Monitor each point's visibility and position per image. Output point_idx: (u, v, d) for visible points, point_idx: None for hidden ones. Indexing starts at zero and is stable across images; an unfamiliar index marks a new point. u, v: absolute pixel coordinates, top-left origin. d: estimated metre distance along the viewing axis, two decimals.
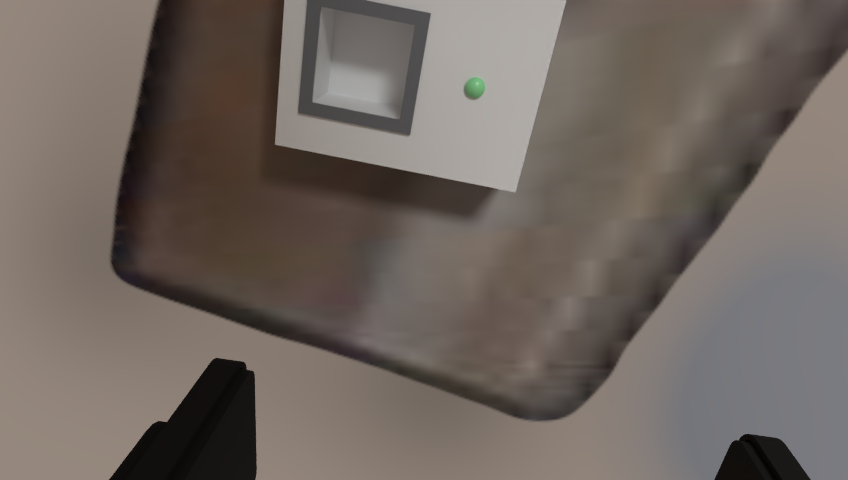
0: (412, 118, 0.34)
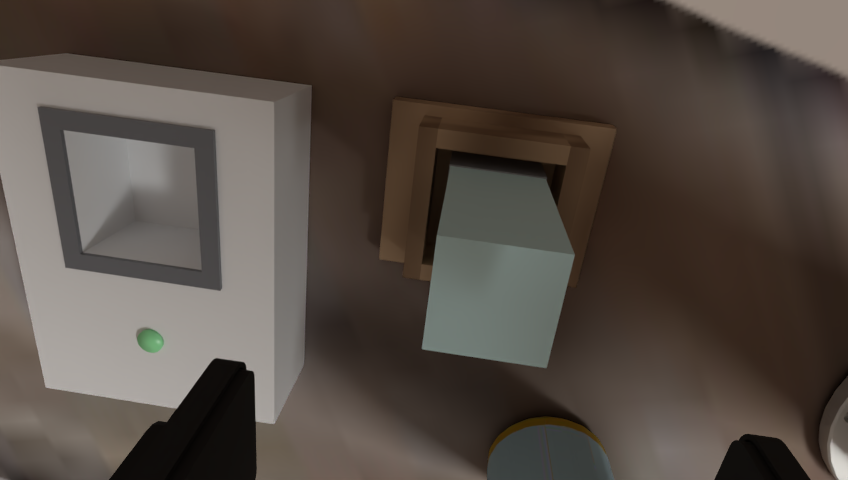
0: (88, 270, 0.24)
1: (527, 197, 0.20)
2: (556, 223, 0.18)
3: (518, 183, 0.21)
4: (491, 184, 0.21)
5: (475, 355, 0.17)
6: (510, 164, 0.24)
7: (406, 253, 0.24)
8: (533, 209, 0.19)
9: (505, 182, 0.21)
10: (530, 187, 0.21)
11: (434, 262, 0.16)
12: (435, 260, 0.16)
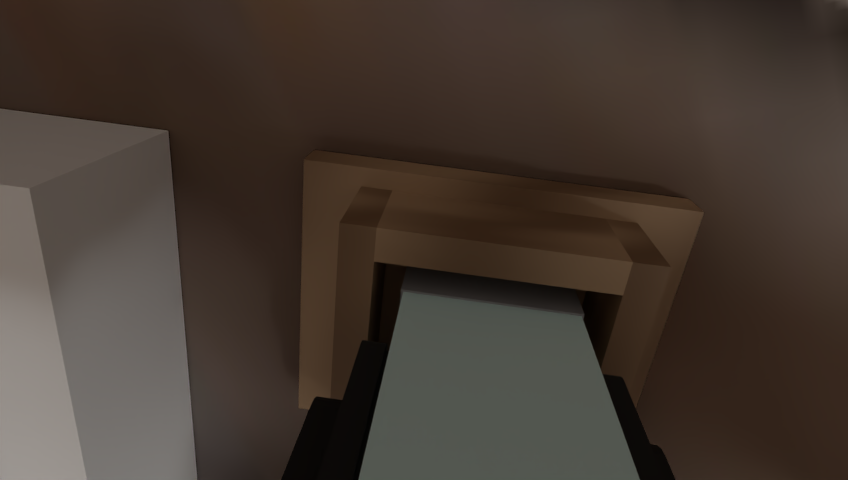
0: None
1: (555, 397, 0.09)
2: None
3: (532, 338, 0.11)
4: (480, 351, 0.10)
5: None
6: None
7: None
8: (574, 455, 0.08)
9: (507, 339, 0.11)
10: (557, 352, 0.11)
11: None
12: None
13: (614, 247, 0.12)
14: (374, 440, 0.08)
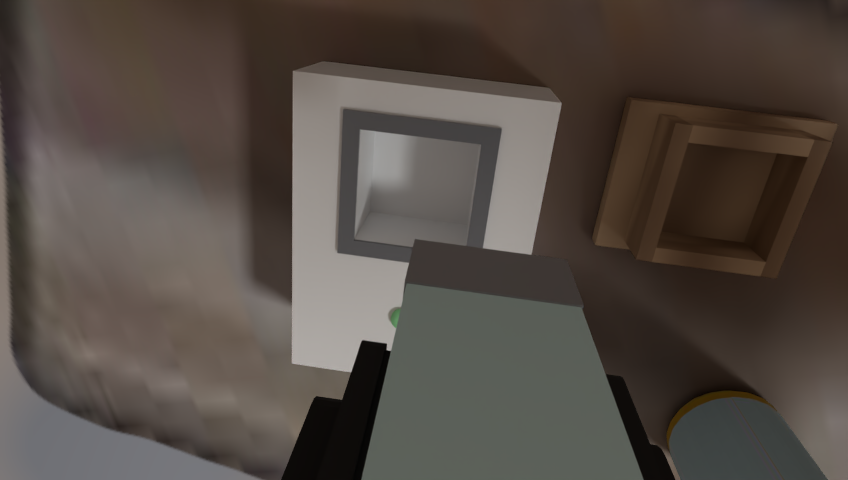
0: (357, 255, 0.27)
1: (556, 383, 0.10)
2: None
3: (533, 328, 0.11)
4: (482, 340, 0.11)
5: None
6: (515, 269, 0.13)
7: (643, 238, 0.27)
8: (574, 437, 0.08)
9: (508, 329, 0.11)
10: (557, 341, 0.11)
11: None
12: None
13: (801, 136, 0.25)
14: (380, 423, 0.08)
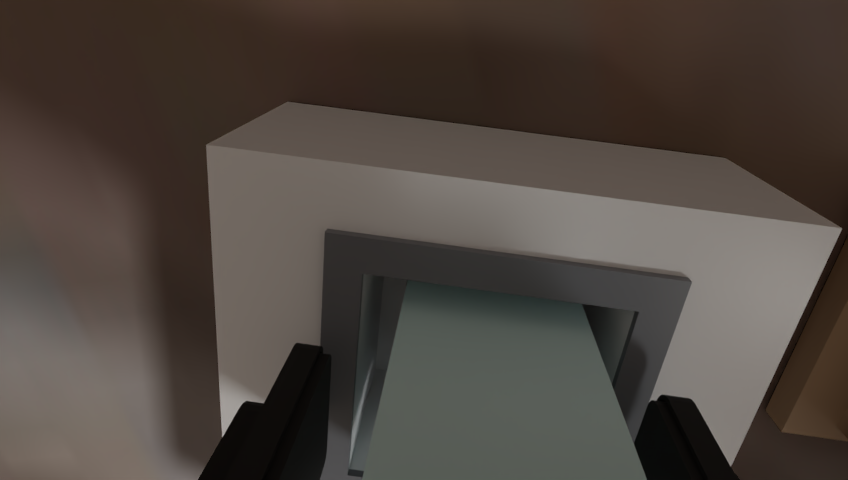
0: None
1: (552, 361, 0.10)
2: (627, 464, 0.08)
3: (531, 312, 0.12)
4: (482, 323, 0.11)
5: None
6: None
7: None
8: (569, 410, 0.09)
9: (507, 313, 0.12)
10: (554, 323, 0.11)
11: None
12: None
13: None
14: (386, 398, 0.09)
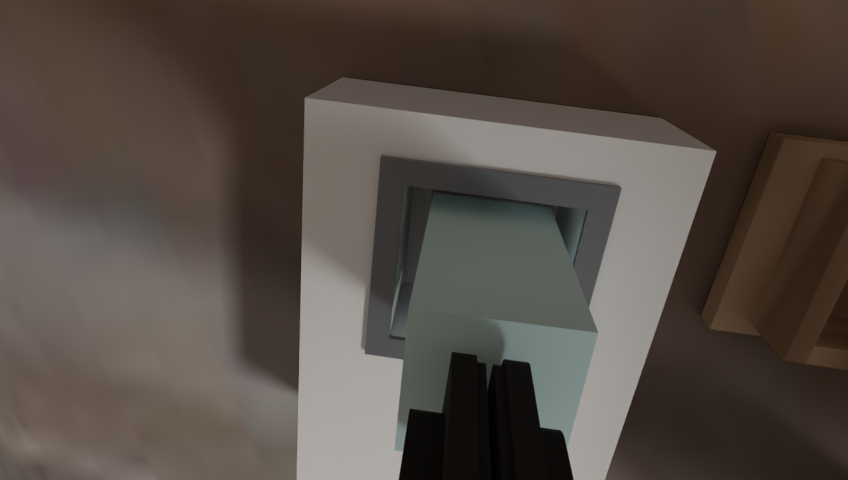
0: (393, 357, 0.19)
1: (529, 237, 0.16)
2: (569, 278, 0.13)
3: (517, 216, 0.17)
4: (484, 219, 0.17)
5: None
6: None
7: (798, 333, 0.19)
8: (537, 257, 0.14)
9: (501, 215, 0.17)
10: (532, 221, 0.17)
11: (406, 343, 0.12)
12: (407, 340, 0.12)
13: None
14: (425, 247, 0.14)
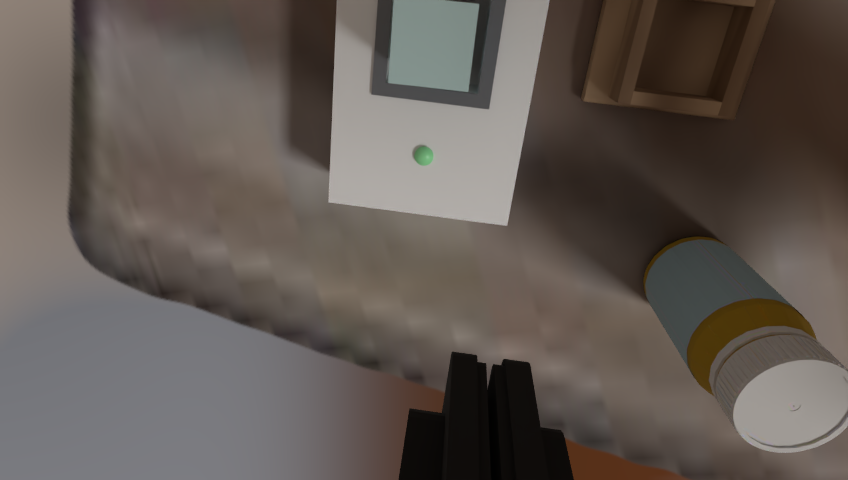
0: (388, 96, 0.33)
1: None
2: None
3: None
4: None
5: (422, 85, 0.27)
6: None
7: (623, 82, 0.33)
8: None
9: None
10: None
11: (393, 15, 0.25)
12: (393, 13, 0.25)
13: None
14: None
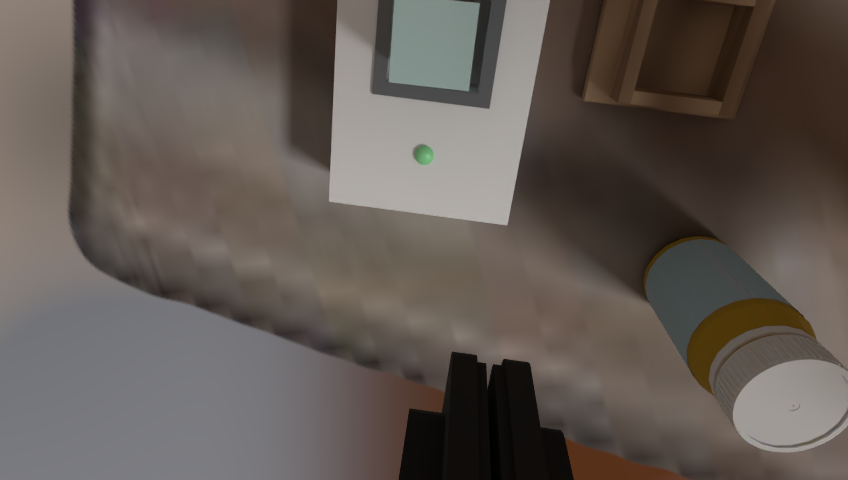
0: (388, 95, 0.33)
1: None
2: None
3: None
4: None
5: (423, 84, 0.27)
6: None
7: (624, 82, 0.33)
8: None
9: None
10: None
11: (394, 14, 0.25)
12: (394, 12, 0.25)
13: None
14: None
